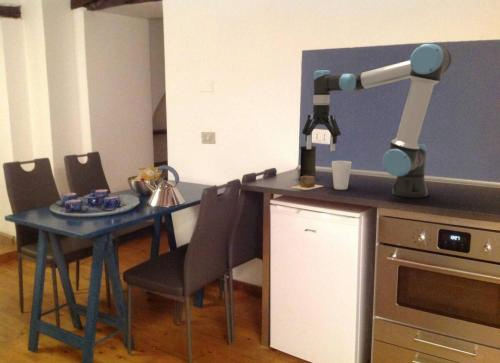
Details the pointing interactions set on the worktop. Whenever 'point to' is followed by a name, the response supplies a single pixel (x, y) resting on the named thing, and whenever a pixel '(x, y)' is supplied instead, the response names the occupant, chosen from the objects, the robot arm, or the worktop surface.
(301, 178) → the block
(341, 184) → the foam cup
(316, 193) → the worktop surface
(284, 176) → the worktop surface
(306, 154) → the container
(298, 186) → the envelope
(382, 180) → the worktop surface
